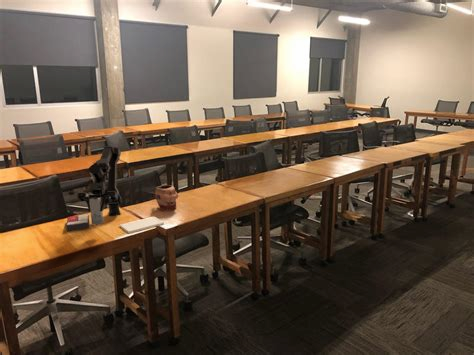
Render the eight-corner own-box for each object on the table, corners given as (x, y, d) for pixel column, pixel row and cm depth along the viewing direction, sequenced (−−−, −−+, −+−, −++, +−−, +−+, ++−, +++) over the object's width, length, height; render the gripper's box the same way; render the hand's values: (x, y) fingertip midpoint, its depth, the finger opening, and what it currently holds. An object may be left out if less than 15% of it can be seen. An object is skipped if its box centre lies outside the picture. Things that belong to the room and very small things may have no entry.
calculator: (88, 213, 215) (88, 221, 201) (89, 220, 216) (89, 228, 202) (67, 216, 211) (65, 224, 197) (68, 223, 212) (66, 232, 198)
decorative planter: (147, 207, 234) (145, 185, 230) (163, 202, 243) (161, 181, 240) (169, 214, 222) (167, 191, 218) (184, 208, 231) (183, 186, 227)
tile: (128, 233, 195) (128, 231, 195) (119, 226, 204) (119, 224, 204) (164, 224, 207) (163, 222, 207) (154, 217, 216) (154, 216, 216)
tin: (90, 222, 192) (87, 198, 188) (101, 220, 195) (98, 195, 191) (93, 225, 187) (90, 200, 184) (105, 223, 191) (102, 198, 187)
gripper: (75, 176, 188) (70, 205, 180) (114, 175, 189) (110, 203, 182) (82, 187, 198) (78, 214, 190) (119, 186, 199) (116, 213, 191)
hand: (95, 211), depth 188 cm, fingers closed on tin, 5 cm apart
